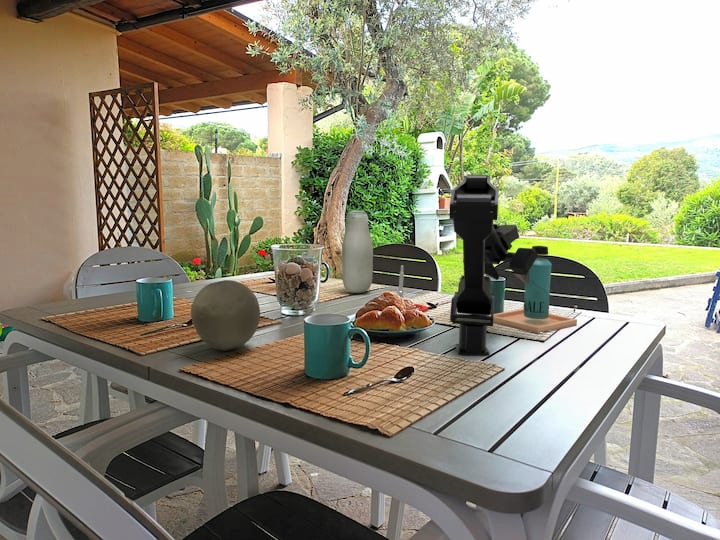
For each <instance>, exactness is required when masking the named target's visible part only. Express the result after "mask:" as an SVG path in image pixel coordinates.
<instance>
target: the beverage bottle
mask: <svg viewBox="0 0 720 540" xmlns="http://www.w3.org/2000/svg"><path fill="white" fill-rule="evenodd" d="M531 248H533V249H535V251H536V253H537V255H538V256H548V255H549V247H548V246H544V245H533V246H531ZM552 265H553V264H552V262H551V261H549V259H547V258H539V257H537V258H536V260H535V262H534V263H533V265H532V267H531V268H530V270H529V275H530V282H529V283H528V284H526V283H525V282H524V285H525V286H524V294H523V299H524V300H523V305H522V306H523V308H522V309H524V310H523V311H524V316H525V317H527V318H531V319H547V318H548V316H549V314H550V297H551V294H550V293H551V291H550V290H551V279H552V278H551V277H552Z"/></svg>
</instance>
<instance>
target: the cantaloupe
mask: <svg viewBox="0 0 720 540" xmlns="http://www.w3.org/2000/svg"><path fill="white" fill-rule="evenodd" d="M190 316H191V321H192V324H193V327H194V329H195V331H196V334H198V336H199V338H200V339H201V340H202V341H203V342H204V343H205V344H206V345H207V346H208V347H210V348H212V349H215V350H218V351H223V352H224V351H233V349H236V348H240V347H241V346H244V345H245V344H246V343H247V342H249V341H250V340H251V339H252V337H253V336H254V335H255V333H256V331H257V330H258V327H259V324H260V319H261V308H260V304H259V300H258V298H257V296H256V295H255V293H254V291H252V289H251V288H250V287H248V286H247V285H246V284H244V283H241V282H238V281H236V280H231V279H230V280H229V279H226V280H225V279H224V280H219V281H215V282H210V283H209V284H206V285H205V286H203V288H201V289H200V290H199V292H198V293H196V296H195V297H194V299H193V301H192V304H191V308H190Z"/></svg>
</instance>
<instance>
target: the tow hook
mask: <svg viewBox="0 0 720 540" xmlns="http://www.w3.org/2000/svg"><path fill="white" fill-rule="evenodd" d="M404 266H405V265H402V264H401V265H400V272H399V279H398V291H397V296H398V295H399V296H400V297H402V298H403V299H404V291H403V289H404V275H405V273H404ZM413 304H414V305H415V306H416V307H420V308H417V309H418V310H419V311H422V312H423V313H426V312H429V307H428V306H426V305H423V304H419V303H413ZM416 307H415V308H416ZM421 308H422V309H421Z"/></svg>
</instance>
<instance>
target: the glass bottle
mask: <svg viewBox="0 0 720 540" xmlns="http://www.w3.org/2000/svg"><path fill="white" fill-rule="evenodd" d="M342 240H343V241H342V245H341V261H342V262H341V263H342V266H341V267H342V269H341V270H342V271H341V272H342V273H341V274H342V275H341V276H342V277H341V278H342V282H343V283H342V284H343V287H344V289H345V290H346V291H347V292H349V293H351V294H363V293H366V292H367V291H368V290H369V289H370V288H371V286H372V283H373V271H374V270H373V267H374V265H373V260H374V259H373V258H374V251H373V250H374V246H373V240H372V237H371V233H370V229H369V217H368V214H367V212H366V211H363V210H361V209H355V210H350V211H349V212H348V213H347V214H346V218H345V231H344V235H343V239H342Z"/></svg>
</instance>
